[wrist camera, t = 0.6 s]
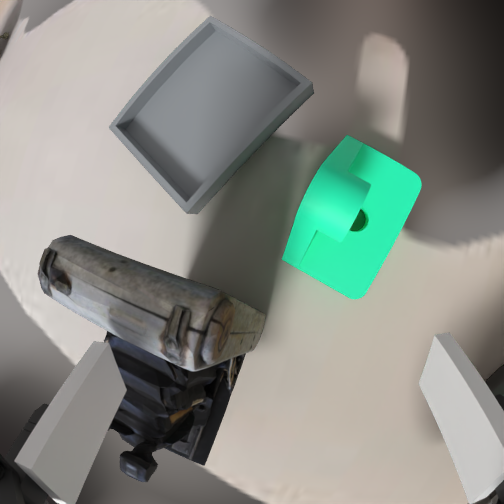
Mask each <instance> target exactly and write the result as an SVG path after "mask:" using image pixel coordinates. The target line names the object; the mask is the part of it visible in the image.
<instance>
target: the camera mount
mask: <svg viewBox="0 0 504 504" xmlns="http://www.w3.org/2000/svg"><path fill="white" fill-rule="evenodd" d="M420 189H421V180H420V178H419V176H418V175H417V174H416V173H414V172H413V171H411V170H410V169H408V168H406V167H405V166H403V165H401V164H400V163H398V162H396V161H394V160H393V159H391V158H389V157H387V156H386V155H384V154H382V153H380V152H379V151H377V150H375V149H373V148H371V147H369V146H368V145H366V144H364V143H362V142H360V141H358V140H356V139H354V138H352V137H351V136H349V135H346V137H345V138H344V139H343V140H342V141H341V142H340V144H339V145H338V146H337V147H336V148H335V149H334V151H333V152H332V153H331V154H330V155H329V156H328V157H327V159H326V160H325V161H324V162H323V163H322V165H321V166H320V168H319V169H318V171H317V173H316V174H315V176H314V178H313V180H312V182H311V184H310V185H309V187H308V189H307V191H306V193H305V195H304V197H303V200H302V202H301V204H300V206H299V209H298V211H297V214H296V217H295V220H294V224H293V227H292V230H291V233H290V236H289V239H288V242H287V245H286V248H285V251H284V254H283V257H282V260H283V261H285V262H287V263H289V264H290V265H292V266H294V267H296V268H297V269H299V270H301V271H303V272H304V273H306V274H308V275H310V276H311V277H313V278H315V279H317V280H319V281H320V282H322V283H324V284H326V285H327V286H329V287H331V288H333V289H334V290H336V291H338V292H340V293H341V294H343V295H345V296H347V297H348V298H351V299H359V298H361V297H363V296H364V295H365V294H366V292H367V290H368V289H369V287H370V285H371V283H372V282H373V280H374V278H375V277H376V275H377V273H378V271H379V270H380V268H381V266H382V264H383V262H384V261H385V259H386V257H387V255H388V253H389V252H390V250H391V248H392V246H393V244H394V242H395V240H396V238H397V237H398V235H399V233H400V231H401V229H402V227H403V225H404V223H405V221H406V219H407V217H408V215H409V213H410V211H411V209H412V207H413V204H414V202H415V200H416V198H417V196H418V194H419V192H420ZM360 209H361V210H362V211H363V212H364V214H365V218H366V221H365V224H364V226H363V227H362V228H361V229H360V230H358V231H350V230H349V229H350V228H351V226H352V224H353V222H354V220H355V219H356V217H357V215H358V213H359V211H360Z"/></svg>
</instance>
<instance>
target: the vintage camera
mask: <svg viewBox="0 0 504 504" xmlns="http://www.w3.org/2000/svg"><path fill="white" fill-rule="evenodd" d="M38 277H39V280H40V284H41V288H42V290H43V291H44V293H45V294H47V295H48V296H49V297H51V298H52V299H54V300H56V301H57V302H59V303H60V304H62V305H63V306H65V307H67V308H68V309H70V310H72V311H73V312H75V313H77V314H78V315H80V316H82V317H84V318H85V319H87V320H89V321H91V322H92V323H94V324H96V325H98V326H99V327H101V328H103V329H105V330H107V335H106V337H105V340H104V342H106V343H109V344H110V347H111V350H112V353H113V356H114V358H115V361H116V364H117V366H118V369H119V372H120V374H121V377H122V379H123V382H124V384H125V387H126V389H127V391H126V393H125V395H124V397H123V399H122V401H121V403H120V405H119V407H118V410H117V412H116V414H115V416H114V418H113V420H112V422H111V424H110V426H109V429H114V430H115V431H117V432H119V434H120V436H121V438H122V439H123V440H124V441H126V442H127V443H129V444H130V445H132V446H133V447H135V448H134V449H133V451H124V452H123V453H122V454H121V455H120V469H121V471H122V472H124V473H125V474H126V475H128V476H130V477H132V478H134V479H136V480H138V481H141V482H148V480H149V478H150V477H151V475H152V474H153V473H154V472H155V470H156V468H157V465H158V464H157V463H156V461H155V460H154V458H153V456H152V452H154V451H156V450H159V449H162V448H166V449H168V450H169V451H172V452H174V453H176V454H178V455H180V456H182V457H185V458H187V459H189V460H191V461H194V462H196V463H199V464H201V465H205V463H206V461H207V458H208V456H209V453H210V450H211V448H212V445H213V443H214V440H215V437H216V435H217V432H218V430H219V427H220V424H221V422H222V419H223V416H224V414H225V411H226V408H227V405H228V402H229V399H230V396H231V393H232V391H233V388H234V386H235V383H236V380H237V377H238V374H239V372H240V369H241V366H242V363H243V360H244V357H245V354H246V353H248V352H250V351H253V350H254V349H255V347H256V345H257V343H258V341H259V339H260V336H261V334H262V331H263V327H264V322H265V314H264V313H262V312H260V311H258V310H257V309H255V308H252V307H250V306H249V305H247V304H245V303H243V302H242V301H239V300H237V299H235V298H234V297H232V296H230V295H228V294H226V293H224V292H222V291H220V290H218V289H216V288H213V287H210V286H207V285H204V284H201V283H198V282H195V281H192V280H189V279H186V278H183V277H180V276H177V275H174V274H172V273H169V272H166V271H163V270H160V269H157V268H155V267H152V266H149V265H146V264H143V263H141V262H138V261H135V260H132V259H130V258H127V257H124V256H122V255H119V254H116V253H114V252H111V251H109V250H106V249H104V248H101V247H99V246H96V245H94V244H91V243H89V242H86V241H84V240H82V239H79V238H77V237H74V236H72V235H68V236H64V237H60V238H57V239H55V240H53V241H52V242H51V244H50V245H49V247H48V248H47V249H45V250H44V252H43V255H42V258H41V260H40V266H39V270H38ZM109 429H108V430H109Z"/></svg>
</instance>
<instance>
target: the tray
mask: <svg viewBox="0 0 504 504" xmlns="http://www.w3.org/2000/svg"><path fill="white" fill-rule="evenodd" d="M313 94H314V90H313V84H312V82H311V81H309V80H308V79H307V78H306V77H304V76H303V75H302V74H300V73H299V72H298V71H296V70H295V69H293V68H292V67H291V66H289V65H288V64H286V63H285V62H284V61H282V60H280V59H279V58H278V57H276V56H275V55H274V54H272V53H271V52H269V51H267V50H266V49H265V48H263V47H262V46H260V45H258V44H257V43H255V42H254V41H252V40H251V39H249V38H248V37H246V36H244V35H242V34H241V33H239V32H238V31H236V30H234V29H233V28H231V27H229V26H228V25H226V24H224V23H222V22H221V21H219V20H217V19H215V18H214V17H212V16H210V17H208V18H207V19H206V20H205V21H204V22H203V23H202V24H201V25H200V26H199V27H197V28H196V29H195V30H194V31H193V32H192V33H191V34H190V35H189V36H188V37H187V38H186V39H185V40H184V41H183V42H182V43H181V44H180V45H179V46H178V47H177V48H176V49H175V50H174V51H173V52H172V53H171V54H170V55H169V56H168V57H167V58H166V59H165V60H164V61H163V62H162V64H161V65H160V66H159V67H158V68H157V69H156V70H155V71H154V72H153V73H152V75H151V76H150V77H149V78H148V79H147V80H146V81H145V83H144V84H143V85H142V86H141V87H140V88H139V90H138V91H137V92H136V93H135V94H134V96H133V97H132V98H131V99H130V100H129V102H128V103H127V104H126V105H125V107H124V108H123V109H122V110H121V112H120V113H119V114H118V116H117V117H116V118H115V120H114V121H113V122H112V124H111V125H110V126H109V128H110V130H111V131H112V132H113V133H114V134H115V135H116V136H117V137H118V139H119V140H120V141H121V142H122V143H123V144H124V145H125V146H126V148H127V149H128V150H129V151H130V152H131V153H132V154H133V155H134V156H135V158H136V159H137V160H138V161H139V162H140V163H141V164H142V165H143V166H144V168H145V169H146V170H147V171H148V172H149V173H150V174H151V175H152V176H153V178H154V179H155V180H156V181H157V182H158V183H159V184H160V185H161V186H162V187H163V189H164V190H165V191H166V192H167V193H168V194H169V195H170V196H171V197H172V198H173V199H174V201H175V202H176V203H177V204H178V205H179V206H180V207H181V208H182V209H183V210H184V211H185V213H186V214H198V213H199V212H200V211H201V210H202V208H203V207H204V206H205V205H206V204H207V203H208V202H209V201H210V200H211V198H212V197H213V196H214V195H215V194H216V193H217V192H218V191H219V190H220V189H221V187H222V186H223V185H224V184H225V183H226V182H227V181H228V180H229V179H230V178H231V177H232V176H233V174H234V173H235V172H236V171H237V170H238V169H239V168H240V167H241V166H242V165H243V164H244V163H245V162H246V161H247V160H248V159H249V158H250V156H251V155H252V154H253V153H254V152H255V151H256V150H257V149H258V148H259V147H260V146H261V145H262V144H263V143H264V142H265V141H266V140H267V139H268V138H269V137H270V136H271V135H272V134H273V133H274V132H275V131H276V130H277V129H278V128H279V127H280V126H281V125H282V124H283V123H284V122H285V121H286V120H287V119H288V118H289V117H290V116H291V115H292V114H293V113H294V112H295V111H296V110H297V109H298V108H299V107H300V106H301V105H302V104H303V103H304V102H305V101H306V100H307V99H308V98H309V97H310V96H311V95H313Z"/></svg>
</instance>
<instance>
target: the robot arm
mask: <svg viewBox="0 0 504 504" xmlns="http://www.w3.org/2000/svg"><path fill="white" fill-rule="evenodd" d="M419 386H420V388H421V390H422V392H423V394H424V396H425V398H426V401H427V403H428V405H429V407H430V409H431V411H432V413H433V416H434V418H435V420H436V422H437V424H438V427H439V429H440V431H441V433H442V436H443V438H444V440H445V443H446V445H447V447H448V450H449V452H450V455H451V457H452V460H453V462H454V465H455V467H456V470H457V472H458V475H459V477H460V480H461V483H462V485H463V488H464V491H465V493H466V496H467V499H468V502H469V503H468V504H504V365H503V366H502V367H501V368H499V369H498V370H497V371H496V372H495V373H494V374H493V375H492V376H491V377H490V378H489V379H488V380H487V381H486V382H485V381H484V380H483V378H482V377H481V375H480V374H479V373H478V371H477V370H476V368H475V367H474V365H473V364H472V363H471V361H470V360H469V358H468V357H467V355H466V354H465V353H464V351H463V350H462V349H461V347H460V346H459V344H458V343H457V342H456V340H455V339H454V338H453V336H452V335H451V334H450V332H449V333H443V334H437V335H434V339H433V342H432V345H431V349H430V352H429V355H428V358H427V361H426V364H425V367H424V370H423V373H422V376H421V378H420V381H419ZM126 391H127V389H126V387H125V384H124V382H123V379H122V377H121V374H120V372H119V369H118V366H117V364H116V361H115V358H114V356H113V353H112V350H111V347H110V344H109V343H106V342H96V341H94V342H93V343H92V345H91V346H90V347H89V349H88V350H87V352H86V353H85V354H84V356H83V357H82V358H81V360H80V361H79V363H78V364H77V365H76V367H75V368H74V370H73V371H72V372H71V374H70V376H69V377H68V379H67V380H66V381H65V383H64V384H63V385H62V387H61V388H60V390H59V391H58V393H57V394H56V396H55V397H54V399H53V400H52V402H51V403H50V405H47V404H43V405H42V406H41V407H39V408H38V409H37V410H35V412H34V413H33V414H32V416H31V417H30V419H29V421H28V423H27V424H26V425H25V427H24V428H23V429H24V430H22V431H21V433H20V434H19V436H18V437H17V439H16V441H15V442H14V444H13V445H12V447H11V448H10V450H9V452H8V453H7V455H6V456H5V458H3V457H2V455H1V454H0V504H49V503H48V501H47V500H46V498H47V496H48V495H49V496H50V497H51V498H52V499H53V500H54V501H56V502H57V503H59V504H75V503H76V500H77V498H78V496H79V493H80V491H81V489H82V486H83V484H84V482H85V479H86V477H87V475H88V473H89V470H90V468H91V466H92V463H93V461H94V459H95V457H96V455H97V452H98V450H99V448H100V446H101V444H102V441H103V439H104V437H105V435H106V433H107V431H108V429H109V426H110V424H111V422H112V420H113V418H114V416H115V414H116V412H117V410H118V407H119V405H120V403H121V401H122V399H123V397H124V395H125V393H126Z"/></svg>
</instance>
